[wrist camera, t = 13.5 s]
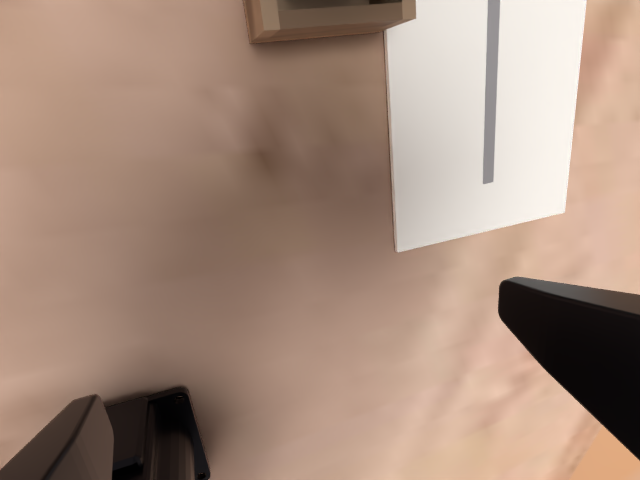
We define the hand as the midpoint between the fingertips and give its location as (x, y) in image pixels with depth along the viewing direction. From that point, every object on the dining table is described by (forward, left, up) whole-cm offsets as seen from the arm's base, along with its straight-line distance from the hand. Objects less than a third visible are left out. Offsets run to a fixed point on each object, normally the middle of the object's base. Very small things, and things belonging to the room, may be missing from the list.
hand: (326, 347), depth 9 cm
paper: (+4, -14, -12) cm, 19 cm away
